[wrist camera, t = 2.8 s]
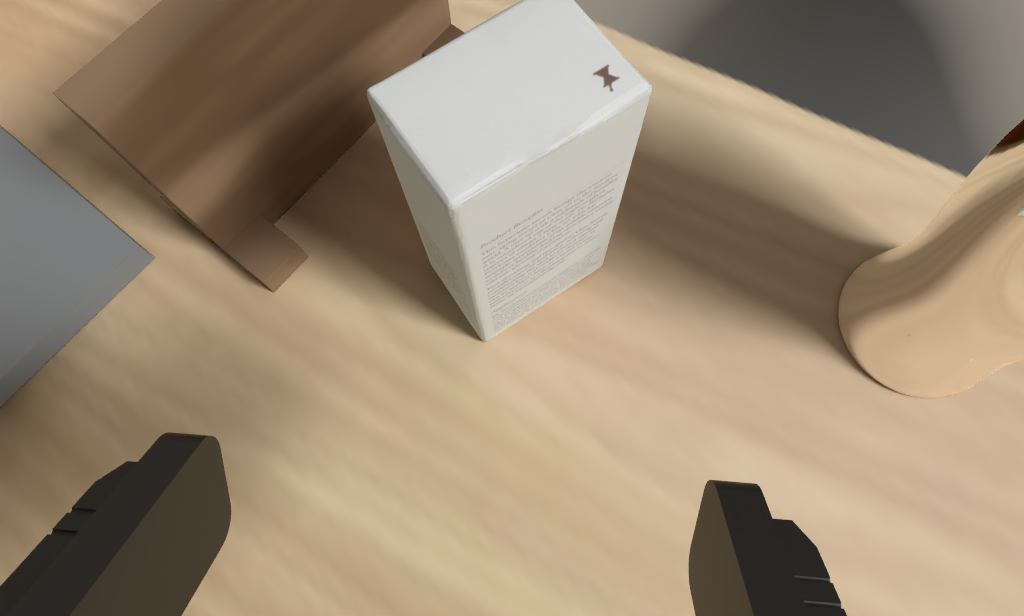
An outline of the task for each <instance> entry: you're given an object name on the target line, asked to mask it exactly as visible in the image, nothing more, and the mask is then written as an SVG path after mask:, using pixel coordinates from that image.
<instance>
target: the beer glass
mask: <svg viewBox="0 0 1024 616" xmlns="http://www.w3.org/2000/svg"><path fill="white" fill-rule="evenodd" d="M838 320H839V326H840V331H841V334H842V337H843V340H844V342H845V344H846V346H847V348H848V350H849V352H850V353H851V355H852V356H853V358H854V359H855V361H856V362H857V363H858V364H859V365H860V366H861V368H862V369H863V370H864V371H865V372H866V373H868V374H869V375H870V376H871V377H872V378H874V379H875V380H876V381H878V382H879V383H881V384H882V385H884V386H886V387H888V388H890V389H892V390H894V391H896V392H899V393H902V394H905V395H909V396H913V397H920V398H940V397H947V396H951V395H955V394H958V393H961V392H963V391H965V390H967V389H969V388H971V387H973V386H975V385H976V384H978V383H979V382H981V381H982V380H984V379H985V378H987V377H988V376H990V375H991V374H993V373H994V372H996V371H997V370H999V369H1001V368H1002V367H1004V366H1007V365H1010V364H1012V363H1016V362H1021V361H1024V119H1023V120H1022V121H1021V122H1020V123H1019V124H1018V125H1016V126H1015V127H1014V128H1013V129H1012V130H1011V131H1010V132H1008V133H1007V134H1006V136H1004V138H1003V139H1001V140H1000V142H999V143H998V144H997V145H996V146H995V147H994V148H993V149H992V150H991V151H990V152H989V153H988V154H987V156H986V157H985V158H984V159H983V160H982V161H981V162H980V163H979V164H978V165H977V166H976V168H974V170H973V171H972V172H971V173H970V175H969V176H968V177H967V178H966V179H965V181H964V182H963V183H962V184H961V185H960V187H959V188H958V189H957V190H956V192H955V193H954V194H953V195H952V196H951V198H950V199H949V200H948V202H947V203H946V204H945V205H944V207H943V208H942V209H941V210H940V212H939V213H938V214H937V215H936V217H935V218H934V219H933V220H932V221H931V223H930V224H929V225H928V226H927V227H926V228H925V229H924V231H922V232H921V233H920V234H919V235H918V236H917V237H916V238H914V239H913V240H911V241H910V242H908V243H906V244H903V245H901V246H898V247H895V248H893V249H890V250H888V251H885V252H883V253H880V254H878V255H876V256H874V257H872V258H870V259H869V260H867V261H866V262H864V263H863V264H861V265H860V266H859V267H858V268H857V269H856V270H855V271H854V272H853V273H852V274H851V275H850V277H849V278H848V280H847V282H846V283H845V285H844V287H843V290H842V292H841V295H840V299H839V305H838Z"/></svg>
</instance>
